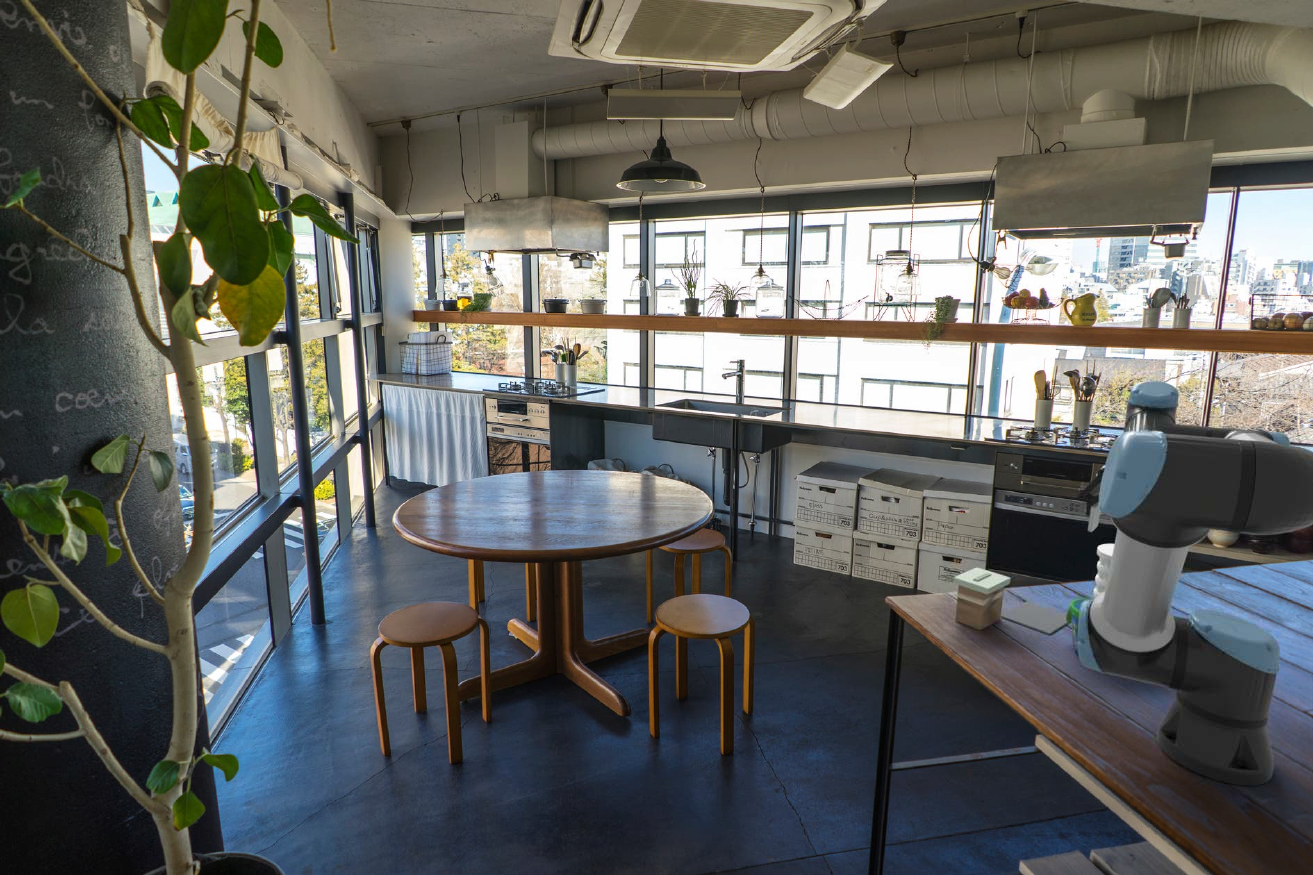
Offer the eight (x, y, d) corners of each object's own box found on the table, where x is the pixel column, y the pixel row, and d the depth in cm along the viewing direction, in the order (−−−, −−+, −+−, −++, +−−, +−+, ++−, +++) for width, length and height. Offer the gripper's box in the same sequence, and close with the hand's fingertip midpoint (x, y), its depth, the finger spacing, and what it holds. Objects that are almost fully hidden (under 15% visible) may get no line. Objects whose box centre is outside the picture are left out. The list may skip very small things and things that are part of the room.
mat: (1049, 634, 158) (1049, 633, 158) (1000, 617, 167) (1000, 615, 167) (1075, 618, 166) (1075, 617, 166) (1027, 602, 175) (1027, 601, 175)
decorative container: (1076, 625, 163) (1086, 550, 160) (1098, 611, 170) (1108, 539, 166) (1133, 644, 154) (1145, 566, 150) (1154, 629, 161) (1166, 554, 157)
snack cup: (1143, 673, 143) (1150, 626, 141) (1090, 673, 143) (1097, 626, 141) (1096, 636, 158) (1102, 593, 156) (1048, 636, 158) (1053, 593, 156)
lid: (987, 594, 158) (988, 587, 157) (953, 583, 164) (954, 576, 163) (1009, 583, 164) (1010, 576, 163) (976, 572, 170) (976, 565, 170)
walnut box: (980, 630, 160) (984, 592, 159) (954, 620, 165) (958, 583, 163) (1000, 619, 166) (1004, 582, 164) (975, 609, 171) (979, 574, 169)
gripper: (1227, 470, 131) (1204, 558, 141) (1085, 429, 149) (1074, 509, 160) (1209, 490, 127) (1187, 578, 138) (1066, 445, 146) (1056, 526, 157)
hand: (1126, 541), depth 149 cm, fingers open, 13 cm apart
